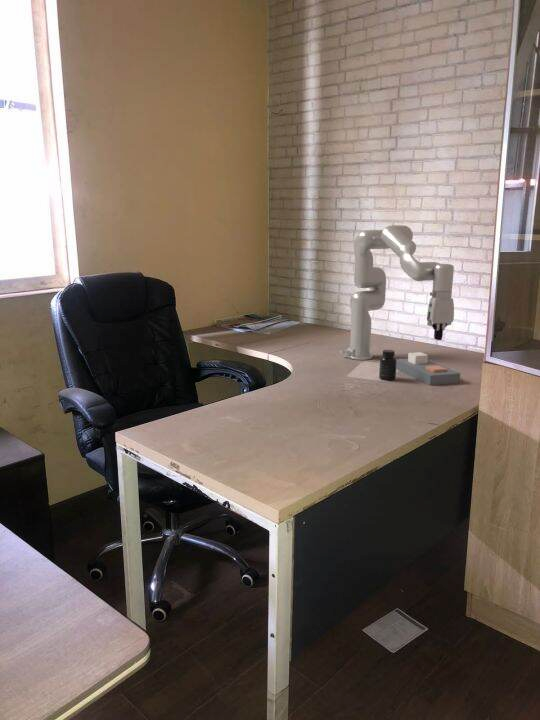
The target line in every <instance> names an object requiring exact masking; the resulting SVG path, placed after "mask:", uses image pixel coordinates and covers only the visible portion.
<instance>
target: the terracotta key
mask: <svg viewBox="0 0 540 720" xmlns="http://www.w3.org/2000/svg"><path fill="white" fill-rule="evenodd" d="M425 369H426V370H428V371H430V372H433V373H436V372H446V368H443V367H441V366H438V365H436V366H426V368H425Z"/></svg>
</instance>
